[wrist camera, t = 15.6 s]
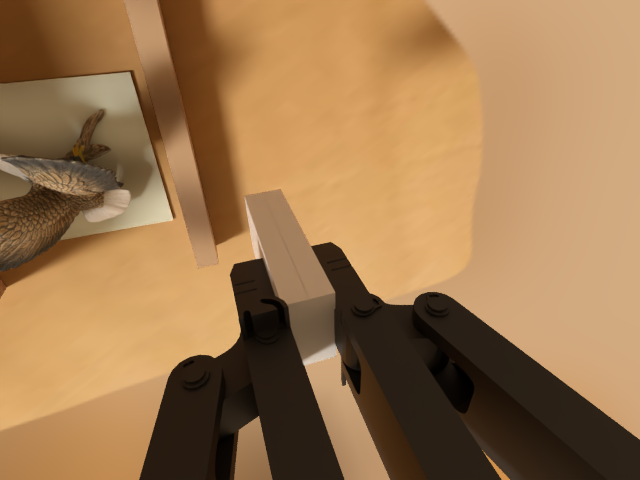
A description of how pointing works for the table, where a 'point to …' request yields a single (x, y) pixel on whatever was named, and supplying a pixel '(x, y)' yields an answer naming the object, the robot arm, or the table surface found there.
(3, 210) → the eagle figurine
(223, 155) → the table surface
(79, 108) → the wall board
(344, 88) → the table surface
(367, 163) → the table surface
